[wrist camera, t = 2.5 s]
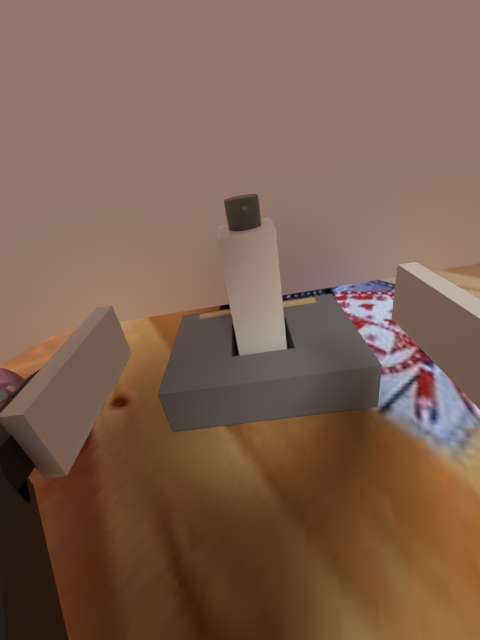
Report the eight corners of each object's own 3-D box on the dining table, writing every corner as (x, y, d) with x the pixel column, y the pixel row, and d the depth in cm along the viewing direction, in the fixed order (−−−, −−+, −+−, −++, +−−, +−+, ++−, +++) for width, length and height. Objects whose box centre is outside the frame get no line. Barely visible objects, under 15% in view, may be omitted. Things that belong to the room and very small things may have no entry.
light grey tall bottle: (282, 350, 29) (266, 189, 22) (289, 377, 26) (272, 196, 19) (243, 356, 30) (214, 198, 22) (244, 383, 26) (210, 206, 19)
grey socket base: (331, 326, 33) (331, 292, 31) (377, 406, 22) (382, 363, 20) (191, 345, 34) (182, 314, 32) (172, 431, 23) (157, 392, 21)
